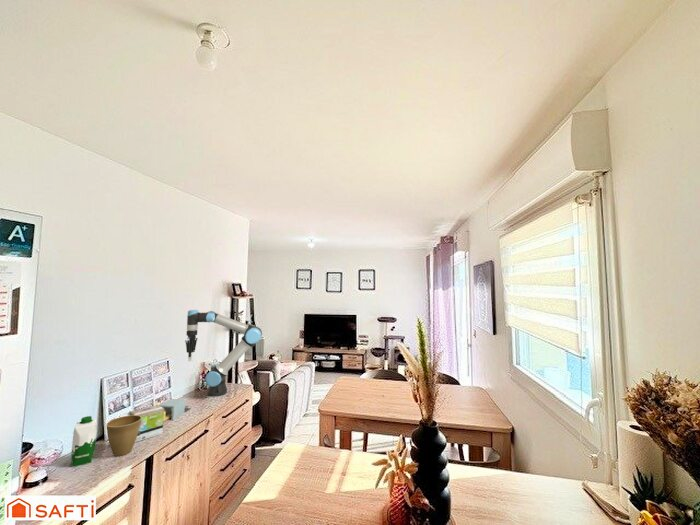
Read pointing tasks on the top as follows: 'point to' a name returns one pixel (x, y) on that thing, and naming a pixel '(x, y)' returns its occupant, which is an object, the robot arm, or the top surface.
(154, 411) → the tea box
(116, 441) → the plant pot
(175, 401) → the tunnel
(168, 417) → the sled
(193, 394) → the top surface
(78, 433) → the milk carton
